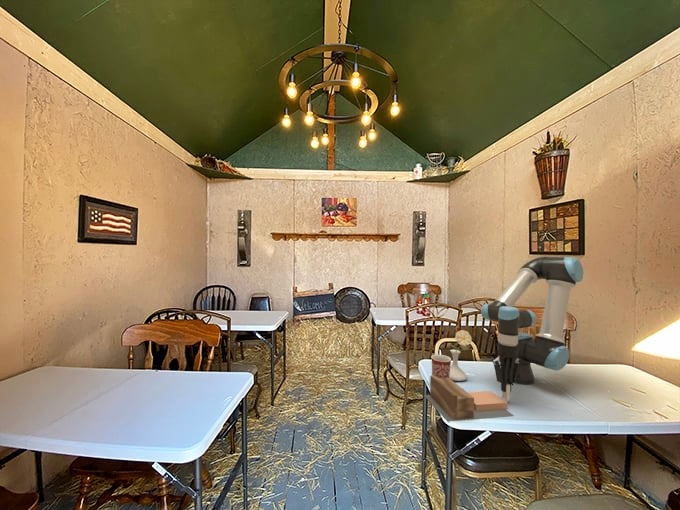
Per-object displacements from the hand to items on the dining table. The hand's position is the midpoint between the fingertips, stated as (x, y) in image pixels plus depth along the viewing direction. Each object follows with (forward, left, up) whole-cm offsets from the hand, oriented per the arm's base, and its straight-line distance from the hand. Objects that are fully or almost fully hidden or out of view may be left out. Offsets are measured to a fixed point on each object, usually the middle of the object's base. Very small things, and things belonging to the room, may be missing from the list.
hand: (505, 398), depth 123 cm
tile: (+10, 0, -1) cm, 10 cm away
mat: (+18, 0, -2) cm, 18 cm away
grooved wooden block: (+26, 0, -1) cm, 26 cm away
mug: (+19, -20, -2) cm, 28 cm away
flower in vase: (+7, -25, -2) cm, 26 cm away
